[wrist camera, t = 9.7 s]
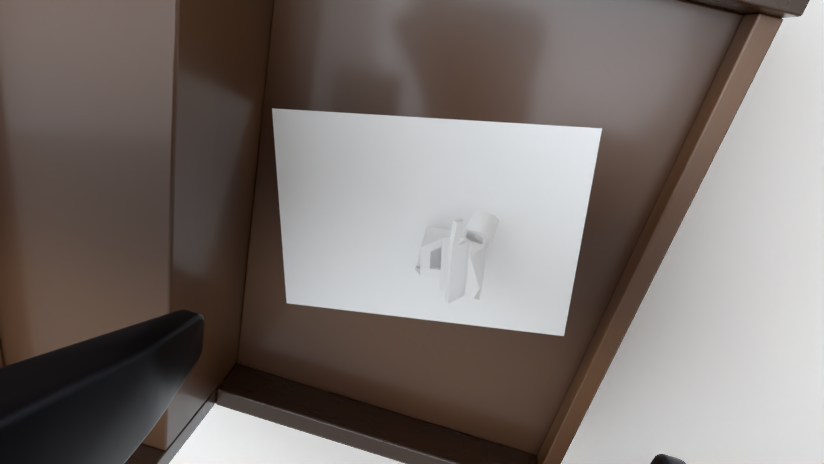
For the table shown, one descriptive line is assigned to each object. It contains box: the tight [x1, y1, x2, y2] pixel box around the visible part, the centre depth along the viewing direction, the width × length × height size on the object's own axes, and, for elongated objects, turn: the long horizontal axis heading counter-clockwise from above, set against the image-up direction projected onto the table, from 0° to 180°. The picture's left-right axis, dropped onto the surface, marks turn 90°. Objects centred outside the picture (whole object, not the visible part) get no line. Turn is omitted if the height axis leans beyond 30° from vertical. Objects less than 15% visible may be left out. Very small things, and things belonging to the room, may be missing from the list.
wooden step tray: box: [0, 0, 809, 464], centre depth 14 cm, size 18×19×9 cm
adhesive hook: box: [414, 209, 500, 313], centre depth 14 cm, size 3×3×3 cm
